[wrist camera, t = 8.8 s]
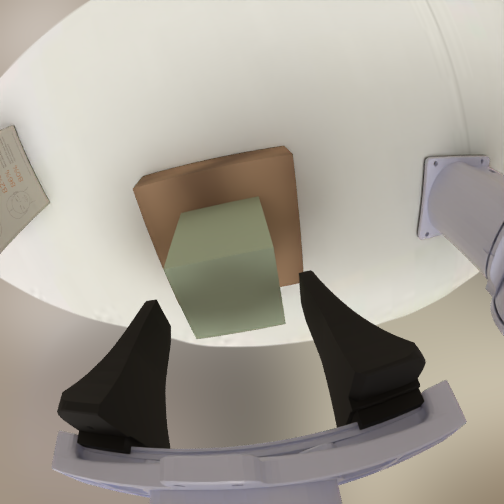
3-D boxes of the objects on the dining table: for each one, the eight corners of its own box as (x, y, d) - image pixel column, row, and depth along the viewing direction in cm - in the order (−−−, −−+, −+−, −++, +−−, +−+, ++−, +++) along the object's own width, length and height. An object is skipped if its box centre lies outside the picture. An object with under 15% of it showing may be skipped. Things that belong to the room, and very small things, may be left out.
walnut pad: (282, 144, 18) (292, 154, 16) (295, 260, 24) (303, 282, 21) (144, 174, 18) (132, 188, 16) (182, 281, 24) (179, 304, 21)
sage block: (258, 196, 17) (273, 247, 12) (270, 261, 20) (285, 323, 15) (181, 213, 17) (163, 269, 12) (202, 274, 20) (196, 339, 15)
